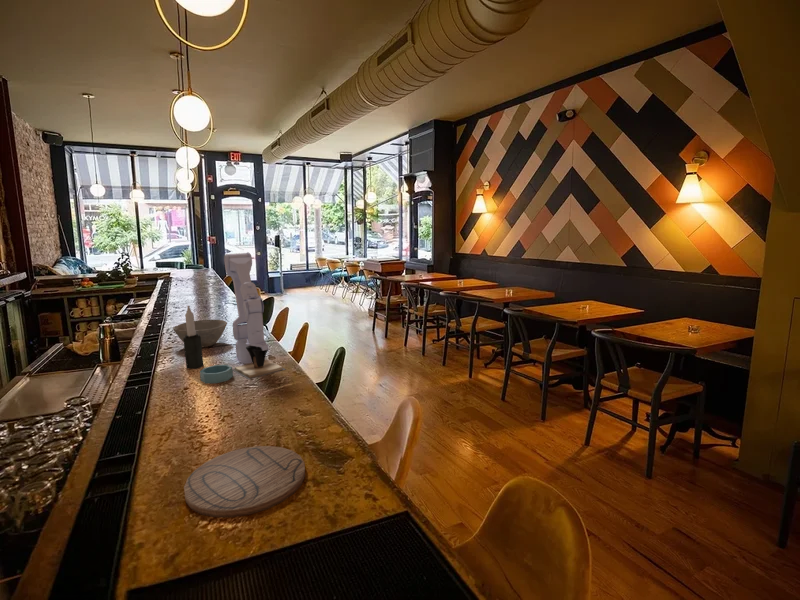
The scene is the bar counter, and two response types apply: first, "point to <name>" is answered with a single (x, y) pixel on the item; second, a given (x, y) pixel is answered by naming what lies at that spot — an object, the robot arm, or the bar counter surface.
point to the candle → (192, 343)
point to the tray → (256, 376)
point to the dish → (216, 374)
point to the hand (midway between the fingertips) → (258, 365)
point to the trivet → (244, 481)
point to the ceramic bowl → (204, 331)
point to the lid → (258, 368)
